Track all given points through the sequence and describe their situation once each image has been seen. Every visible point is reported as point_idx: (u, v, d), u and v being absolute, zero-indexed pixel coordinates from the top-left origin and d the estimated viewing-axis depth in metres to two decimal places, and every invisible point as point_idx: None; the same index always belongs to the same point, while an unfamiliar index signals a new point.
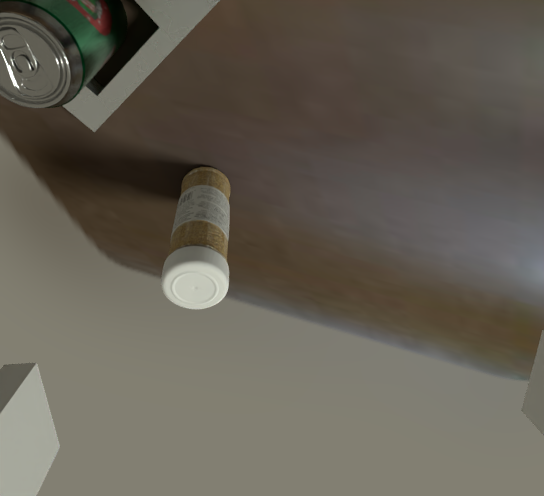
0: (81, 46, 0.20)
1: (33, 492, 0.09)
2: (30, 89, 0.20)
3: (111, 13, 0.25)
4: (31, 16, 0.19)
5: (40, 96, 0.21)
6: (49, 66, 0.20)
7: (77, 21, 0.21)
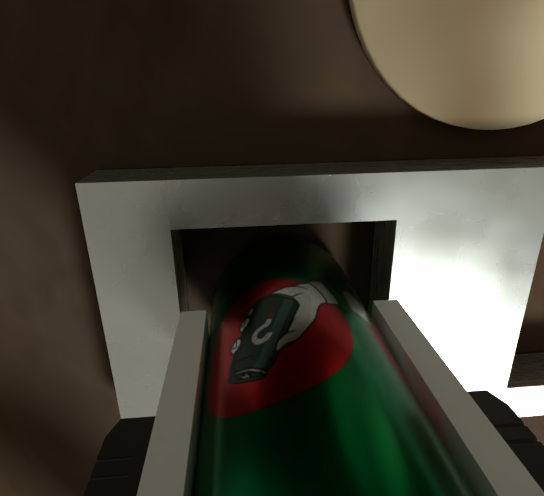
0: None
1: None
2: None
3: None
4: None
5: None
6: None
7: None
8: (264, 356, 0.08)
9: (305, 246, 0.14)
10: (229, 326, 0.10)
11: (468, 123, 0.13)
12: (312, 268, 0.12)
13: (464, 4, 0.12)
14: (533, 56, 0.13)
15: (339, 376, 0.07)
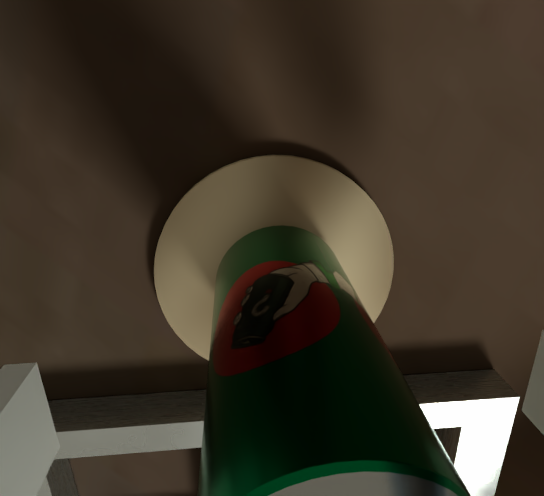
0: None
1: (33, 492, 0.09)
2: None
3: None
4: None
5: None
6: None
7: None
8: (262, 326, 0.10)
9: (300, 232, 0.15)
10: (231, 302, 0.12)
11: None
12: (306, 251, 0.13)
13: None
14: None
15: (327, 340, 0.09)
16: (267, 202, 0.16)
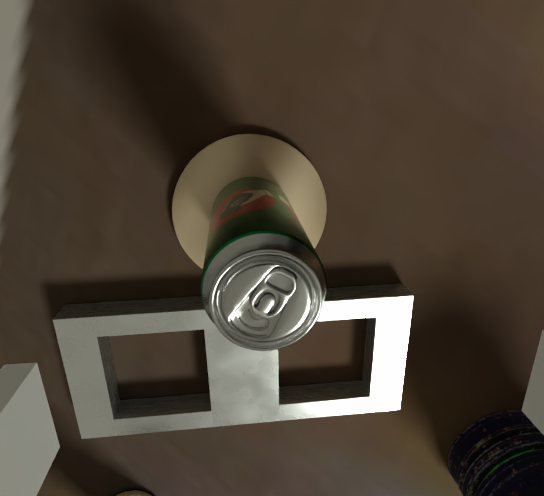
0: None
1: (33, 492, 0.09)
2: (242, 321, 0.16)
3: None
4: (316, 275, 0.16)
5: (247, 335, 0.16)
6: (288, 322, 0.16)
7: None
8: (234, 208, 0.19)
9: (263, 179, 0.25)
10: (220, 208, 0.21)
11: None
12: (264, 186, 0.23)
13: None
14: None
15: (264, 209, 0.18)
16: (243, 163, 0.25)
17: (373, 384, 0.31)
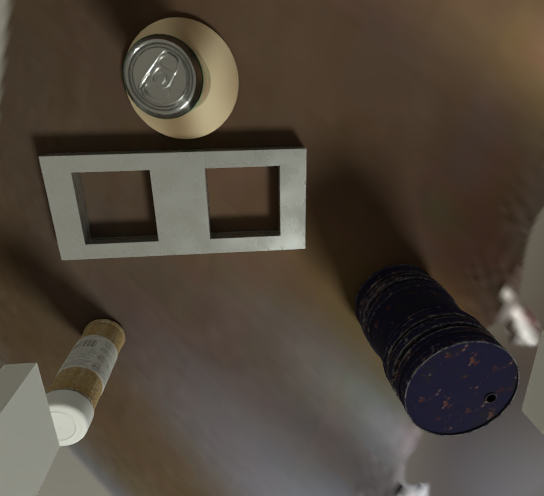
0: (199, 98, 0.27)
1: (33, 492, 0.09)
2: (147, 92, 0.26)
3: (207, 92, 0.33)
4: (192, 62, 0.25)
5: (150, 101, 0.26)
6: (175, 92, 0.26)
7: (204, 84, 0.28)
8: None
9: None
10: None
11: (177, 136, 0.38)
12: None
13: None
14: (195, 114, 0.37)
15: None
16: None
17: (282, 224, 0.41)
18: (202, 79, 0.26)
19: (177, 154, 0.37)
